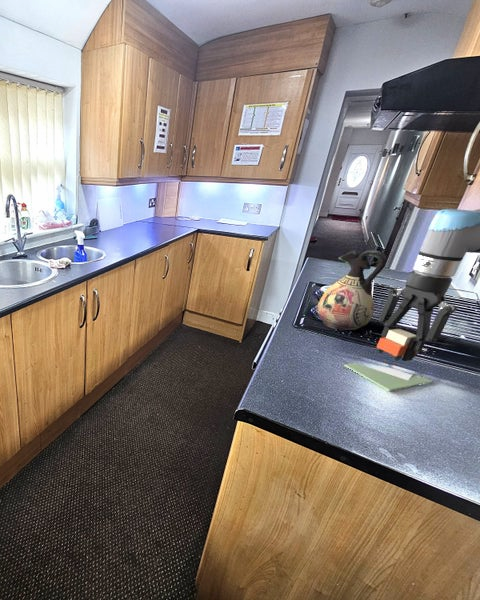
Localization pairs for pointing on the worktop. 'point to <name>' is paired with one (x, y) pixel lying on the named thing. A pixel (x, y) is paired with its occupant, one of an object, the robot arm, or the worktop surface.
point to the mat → (386, 378)
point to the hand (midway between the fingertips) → (395, 354)
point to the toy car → (395, 343)
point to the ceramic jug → (351, 294)
